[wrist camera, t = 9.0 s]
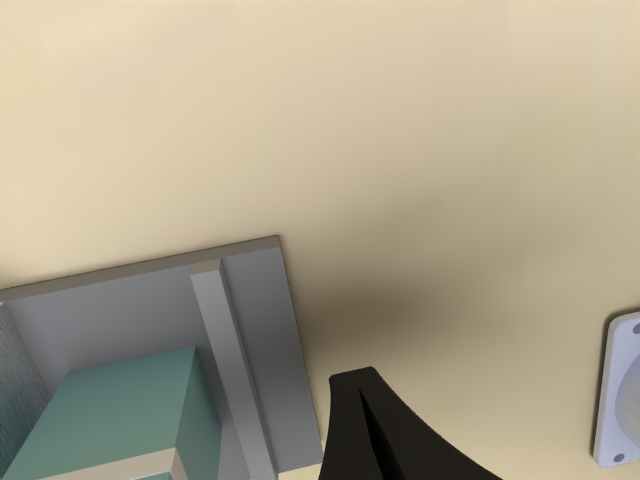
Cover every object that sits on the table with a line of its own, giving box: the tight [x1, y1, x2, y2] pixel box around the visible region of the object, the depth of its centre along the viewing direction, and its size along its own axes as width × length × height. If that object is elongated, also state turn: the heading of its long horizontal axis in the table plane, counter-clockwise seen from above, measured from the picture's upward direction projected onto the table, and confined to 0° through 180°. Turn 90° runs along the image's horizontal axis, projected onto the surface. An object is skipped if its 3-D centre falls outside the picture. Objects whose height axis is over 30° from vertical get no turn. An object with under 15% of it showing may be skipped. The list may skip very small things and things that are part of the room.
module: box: [2, 346, 222, 480], centre depth 12 cm, size 4×4×5 cm
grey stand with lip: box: [0, 235, 324, 480], centre depth 14 cm, size 10×9×2 cm
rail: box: [0, 302, 52, 480], centre depth 13 cm, size 1×9×3 cm, turn 8°
